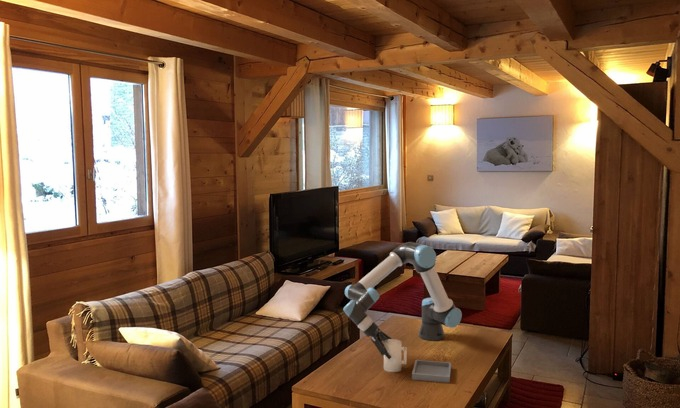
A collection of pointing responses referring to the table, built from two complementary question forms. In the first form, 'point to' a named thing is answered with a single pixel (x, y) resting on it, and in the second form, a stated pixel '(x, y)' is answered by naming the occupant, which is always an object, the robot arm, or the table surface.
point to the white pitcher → (396, 351)
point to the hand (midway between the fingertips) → (397, 357)
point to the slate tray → (431, 371)
